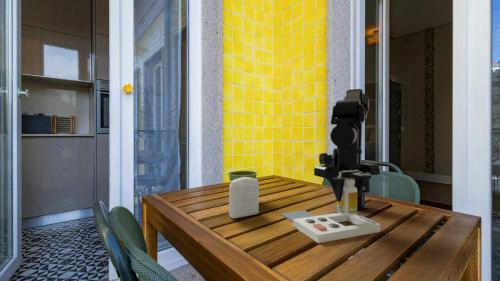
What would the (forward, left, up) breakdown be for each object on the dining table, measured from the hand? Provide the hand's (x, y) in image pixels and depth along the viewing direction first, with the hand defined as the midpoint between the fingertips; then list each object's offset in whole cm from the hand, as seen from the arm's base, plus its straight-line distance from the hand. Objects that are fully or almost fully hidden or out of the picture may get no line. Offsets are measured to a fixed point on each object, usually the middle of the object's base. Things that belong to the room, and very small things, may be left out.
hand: (346, 200), depth 71 cm
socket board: (+4, 0, -8) cm, 9 cm away
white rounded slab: (+24, -20, -8) cm, 32 cm away
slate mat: (+8, -11, -8) cm, 16 cm away
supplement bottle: (0, 0, -4) cm, 4 cm away
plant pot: (+19, -36, -8) cm, 41 cm away
